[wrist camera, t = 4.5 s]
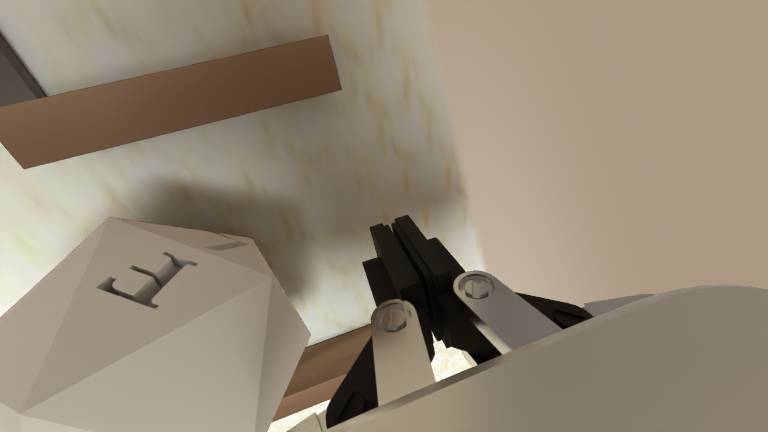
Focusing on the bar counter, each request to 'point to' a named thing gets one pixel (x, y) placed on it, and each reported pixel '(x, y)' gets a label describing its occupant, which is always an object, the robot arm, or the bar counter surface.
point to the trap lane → (174, 113)
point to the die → (150, 337)
